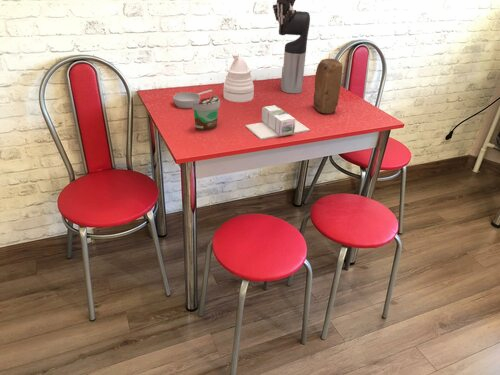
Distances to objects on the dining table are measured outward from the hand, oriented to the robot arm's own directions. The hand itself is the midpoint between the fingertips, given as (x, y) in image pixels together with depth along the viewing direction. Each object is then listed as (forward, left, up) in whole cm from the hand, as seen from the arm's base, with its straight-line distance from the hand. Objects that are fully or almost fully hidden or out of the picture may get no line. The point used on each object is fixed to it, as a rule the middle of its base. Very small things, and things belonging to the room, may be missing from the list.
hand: (282, 34), depth 154 cm
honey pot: (-19, -8, -29) cm, 36 cm away
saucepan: (-19, -28, -29) cm, 45 cm away
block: (+7, +18, -29) cm, 35 cm away
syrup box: (+9, -9, -25) cm, 28 cm away
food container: (+6, -31, -29) cm, 43 cm away
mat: (+17, -9, -29) cm, 35 cm away
